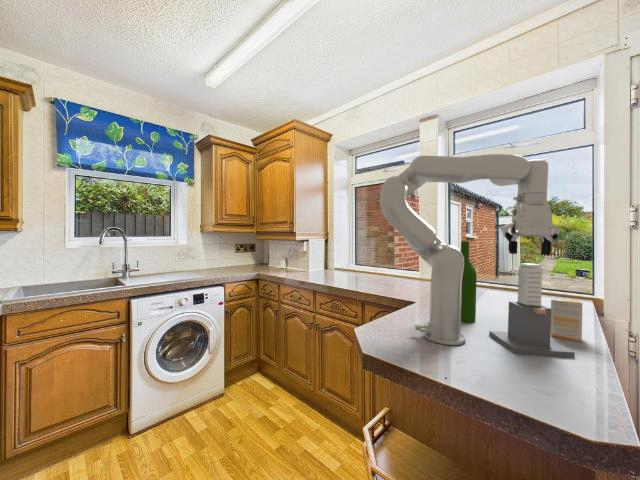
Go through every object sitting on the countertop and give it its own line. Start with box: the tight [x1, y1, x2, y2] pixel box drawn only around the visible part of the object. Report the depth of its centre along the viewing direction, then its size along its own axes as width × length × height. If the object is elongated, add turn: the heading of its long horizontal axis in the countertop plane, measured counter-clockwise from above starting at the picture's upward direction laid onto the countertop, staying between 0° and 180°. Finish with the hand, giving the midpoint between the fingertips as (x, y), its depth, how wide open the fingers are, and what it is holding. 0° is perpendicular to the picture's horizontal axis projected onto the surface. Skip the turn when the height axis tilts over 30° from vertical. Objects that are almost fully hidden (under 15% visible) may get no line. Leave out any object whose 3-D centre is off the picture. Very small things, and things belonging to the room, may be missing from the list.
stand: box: [488, 300, 576, 358], centre depth 91 cm, size 16×16×13 cm
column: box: [516, 262, 543, 307], centre depth 91 cm, size 5×5×19 cm
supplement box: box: [550, 297, 583, 342], centre depth 99 cm, size 8×5×13 cm, turn 48°
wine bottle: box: [460, 240, 478, 324], centre depth 118 cm, size 9×9×32 cm
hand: (529, 254), depth 91 cm, fingers open, 9 cm apart
